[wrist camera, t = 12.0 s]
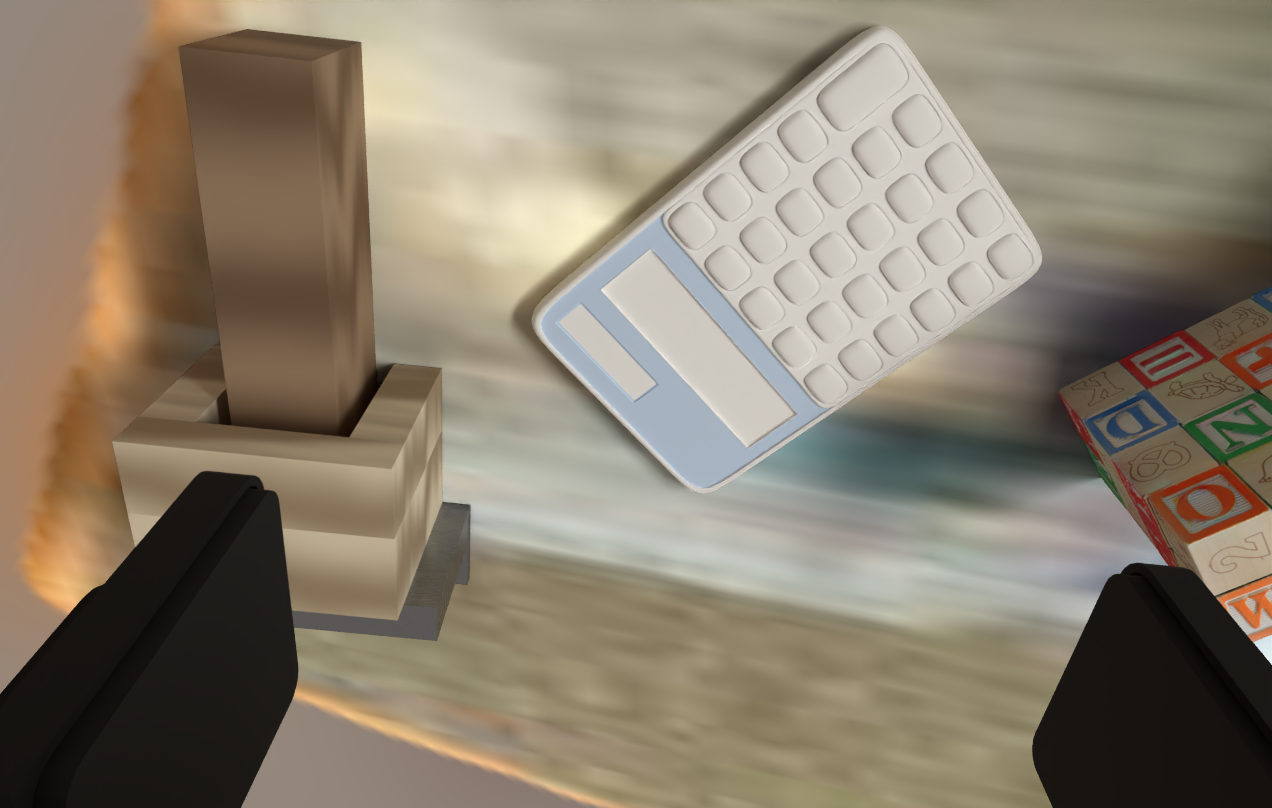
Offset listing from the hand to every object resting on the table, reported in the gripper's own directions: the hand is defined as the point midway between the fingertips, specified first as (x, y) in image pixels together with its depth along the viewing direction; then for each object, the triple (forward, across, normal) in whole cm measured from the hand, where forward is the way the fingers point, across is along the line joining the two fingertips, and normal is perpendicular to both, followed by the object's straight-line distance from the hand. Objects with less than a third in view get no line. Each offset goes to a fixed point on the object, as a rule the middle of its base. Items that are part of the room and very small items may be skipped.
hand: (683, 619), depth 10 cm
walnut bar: (+31, +15, +8) cm, 35 cm away
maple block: (+30, +15, +17) cm, 38 cm away
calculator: (+31, -6, +7) cm, 32 cm away
